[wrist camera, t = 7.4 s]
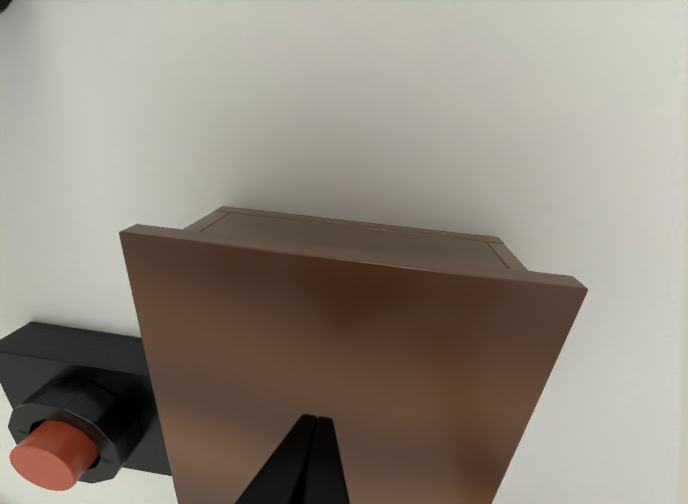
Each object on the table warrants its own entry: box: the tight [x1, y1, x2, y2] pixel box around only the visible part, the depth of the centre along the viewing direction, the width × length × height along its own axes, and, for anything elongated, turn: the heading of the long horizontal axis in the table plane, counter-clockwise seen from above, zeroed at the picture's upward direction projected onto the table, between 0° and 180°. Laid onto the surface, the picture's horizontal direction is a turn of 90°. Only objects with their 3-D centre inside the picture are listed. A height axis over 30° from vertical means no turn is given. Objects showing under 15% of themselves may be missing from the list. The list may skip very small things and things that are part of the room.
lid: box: [119, 224, 588, 504], centre depth 12 cm, size 15×14×1 cm
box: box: [183, 206, 528, 271], centre depth 16 cm, size 14×14×6 cm
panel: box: [0, 322, 172, 483], centre depth 20 cm, size 11×9×4 cm
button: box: [10, 420, 99, 491], centre depth 18 cm, size 4×4×2 cm
